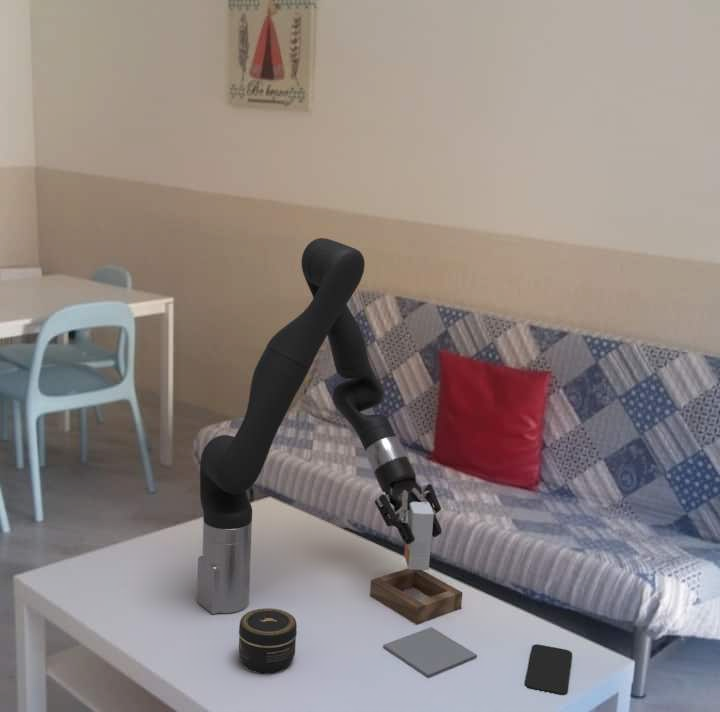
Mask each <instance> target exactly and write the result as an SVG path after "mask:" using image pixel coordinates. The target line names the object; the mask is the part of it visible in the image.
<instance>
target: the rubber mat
mask: <svg viewBox="0 0 720 712" xmlns="http://www.w3.org/2000/svg"><path fill="white" fill-rule="evenodd" d="M382 647H383V649H384V650H386V651H387V652H389V654H392V655H393V656H394V657H397V658H398V659H399V660H401V661H402V662H404V663H405V664H406V665H408V666H409V667H411V668H412V669H414V670H416V671H417V672H419V673H420V674H422V675H424V676H425V677H426V678H428V679H429V678H432V677H435V676H436V675H439V674H441V673H444V672H445V671H448V670H451V669H453V668H455V667H458V666H460V665H463V664H466V663H467V662H470V661H472V660H475V659H477V658H478V654H476V653H475V652H473V651H471V649H469V648H466V647H465V646H464V645H462V644H460V643H459V642H457V641H456V640H453V639H452V638H450V637H449V636H447V635H445V634H444V633H442V632H440V631H439V630H437V629H435V628H434V627H432V626H430V627H427V628H425V629H422V630H420V631H416V632H415V633H411V634H409V635H406V636H404V637H400V638H397V639H395V640H392V641H389V642H387V643H385V644H383V646H382Z"/></svg>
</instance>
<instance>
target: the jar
mask: <svg viewBox="0 0 720 712" xmlns="http://www.w3.org/2000/svg"><path fill="white" fill-rule="evenodd" d="M296 620H297V619H296V618H295V617H294V616H293V615H292V614H291V613H289V612H288V611H285V610H282V609H280V608H279V609H278V608H272V607H271V608H268V607H267V608H266V607H265V608H258V609H253V610H250V611H248V612H246V613H245V614H244V615H243V616H242V617H241V619H240V621H239V627H238V628H239V629H238V639H239V640H238V654H239V659H240V662H241V664H242V665H243V666H244V667H245V668H246V667H247V668H248V669H247V668H246V669H247V670H249V669H250V670H249V671H251V670H252V671H251V672H253V671H256V672H255V673H257V672H259V673H258V674H263V673H270V674H276V672H277V673H279V672H283V671H284V670H286V669H287V668H289V667H290V665H291V664H292V663H293V660H294V657H295V654H296V642H297V641H296V640H297V633H298V630H297V621H296Z"/></svg>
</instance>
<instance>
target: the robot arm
mask: <svg viewBox="0 0 720 712" xmlns="http://www.w3.org/2000/svg"><path fill="white" fill-rule="evenodd" d="M301 255H302V256H301V271H302V274H303V276H304V279H305V281H306V284H307V286H308V288H309V291H310V294H311V296H312V298H313V299H312V300H311V301H310V302H309V304H308V306H307V307H306V308H305V310H304V311H302V312H301V314H299V315H298V316H297V317H296V318H294V319H293V320H291V321H290V322H289V323H287V324H286V325H284V326H283V327H282V328H281V329H280V330H279V331H277V332H276V333H275V334H274V335H273V336H272V337H271V338H270V340H269V341H268V343H267V344H266V346H265V348H264V350H263V351H262V352H263V353H262V355H260V357H259V360H258V361H257V364H256V366H255V369H254V371H253V374H252V379H251V383H250V390H249V396H248V402H247V403H248V404H247V408H246V412H245V415H244V418H243V421H242V423H241V425H240V426H239V428H238V430H237V432H236V433H235V436H232V435H230V434H229V435H228V434H222V435H218V436H215V437H214V438H212V439H210V441H208V442H207V444H206V445H205V446H204V448H203V450H202V453H201V457H200V462H199V463H200V464H199V485H200V486H199V490H200V491H199V495H200V497H199V499H200V505H201V508H202V512H203V513H202V514H203V521H202V522H203V524H202V554H201V556H199V557H198V559H197V584H196V586H197V588H196V589H197V590H196V591H197V592H196V602H197V603H198V604H199V605H200V606H202V608H204V609H205V610H206V611H208V612H209V613H210V614H212V615H215V614H231V613H237V612H240V611H243V610H244V609H246V608H247V607H248V606H249V603H250V582H251V581H250V580H251V579H250V578H251V558H252V557H251V554H252V532H253V531H252V530H253V529H252V526H253V506H252V503H251V502H250V499H249V496H248V493H247V491H248V490H249V489H250V488H251V487H252V486H253V485H254V484H255V483H256V481H257V480H258V478H259V476H260V474H261V472H262V471H263V468H264V465H265V462H266V459H267V457H268V455H269V452H270V450H271V448H272V445H273V442H274V441H275V440H274V439H275V437H276V436H277V435H276V434H277V433H278V431H279V428H280V427H281V425H282V423H283V421H284V419H285V417H286V415H287V412H288V411H289V409H290V407H291V404H292V403H293V401H294V399H295V397H296V395H297V394H298V392H299V390H300V388H301V386H302V385H303V382H304V381H305V379H306V377H307V375H308V373H309V371H310V369H311V367H312V365H313V363H314V360H315V358H316V357H317V355H318V353H319V351H320V349H321V347H322V345H323V343H324V342H325V340H326V338H328V343H329V346H330V351H331V356H332V359H333V364H334V368H335V372H336V373H337V375H338V376H339V377H340V378H343V379H349V380H346V381H343V382H341V383H339V384H337V385H336V386H334V388H333V391H332V401H333V404H334V406H335V407H336V409H337V410H338V412H340V414H341V415H342V416H343V417H344V418H345V419H346V420H347V421H348V423H349V424H350V425H351V427H352V428H353V430H354V431H355V433H356V434H357V435H358V437H359V440H360V443H361V444H362V445H361V446H362V447H363V448H364V452H365V453H366V457H367V459H368V463H369V466H370V467H371V469H372V472H373V474H374V476H375V478H376V481H377V483H378V485H379V489H380V490H381V491H382V492H383V493H385V494H381V495H379V497H377V498H376V499H375V500H374V503H375V506H376V508H377V510H378V511H379V513H380V515H381V517H382V519H383V521H384V522H385V525H386V526H387V527H390V528H391V527H395V528H396V529H397V530H398V532H399V534H400V537H401V539H402V541H403V542H404V543H405V544H411V543H412V542H413V541H414V540H415V538H414V536H413V534H412V532H411V529H410V527H409V525H408V523H407V513H408V510H409V508H410V503H412V502H428V503H430V506H431V507H432V511H433V513H434V518H433V529H432V537H433V538H436V537H439V536H440V535H442V527H441V525H440V523H439V520H438V518H437V516H436V515H437V514H438V513H439V512H440V511H441V510H442V507H441V504H440V502H439V500H438V496H437V495H436V492H435V490H434V488H433V487H434V486H433V485H432V484H430V483H428V484H426V485H425V486H420V485H419V483H417V479H416V476H417V475H416V473H415V471H414V468H413V466H412V463H411V462H410V459H409V458H408V455H407V454H406V450H405V449H404V447H403V445H402V443H401V442H400V441H399V439H398V437H397V435H396V433H395V430H394V429H393V426H392V424H391V422H390V420H389V419H388V417H387V415H385V414H382V413H381V414H380V413H379V414H378V413H377V414H368V415H367V414H365V413H362V412H363V411H366V410H369V409H371V408H375V407H377V406H378V405H380V404H381V403H382V402H383V399H384V396H385V391H384V387H383V385H382V384H381V382H380V380H379V378H378V376H377V375H376V373H375V372H374V369H373V368H372V365H371V363H370V359H369V356H368V349H367V345H366V340H365V337H364V333H363V332H362V330H361V328H360V327H361V326H360V325H359V323H358V321H357V319H356V318H355V317H354V315H353V313H352V311H351V310H350V308H349V306H348V302H349V301H350V300H351V298H352V296H353V295H354V293H355V292H356V290H357V288H358V286H359V284H360V282H361V281H362V279H363V276H364V272H365V257H364V255H363V254H362V252H361V251H360V250H358V249H356V247H352V246H350V245H347V244H343V243H341V242H339V241H335V240H333V239H330V238H325V237H324V238H323V237H320V238H316V239H313V240H312V241H310V242H309V243H308V245H306V247H305V249H304V250H303V253H302V254H301Z"/></svg>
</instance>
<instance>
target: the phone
mask: <svg viewBox="0 0 720 712" xmlns="http://www.w3.org/2000/svg"><path fill="white" fill-rule="evenodd" d="M572 658H573V652H572V651H571V650H569V649H565V648H558V647H553V646H550V645H544V644H533V645H532V646H531V649H530V654H529V658H528V665H527V668H526V675H525V680H524V687H525V686H526V687H525V688H526V689H529V690H532V689H534V691H537V690H539V692H542V691H544V692H543V693H547V692H549V693H548V694H552V693H554V694H553V695H557V694H558V696H566V695H567V694H568V692H569V691H568V690H569V685H570V684H569V682H570V675H571V668H572Z"/></svg>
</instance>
